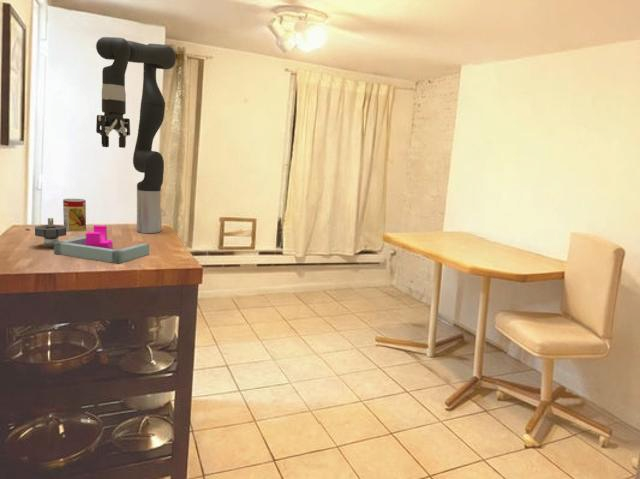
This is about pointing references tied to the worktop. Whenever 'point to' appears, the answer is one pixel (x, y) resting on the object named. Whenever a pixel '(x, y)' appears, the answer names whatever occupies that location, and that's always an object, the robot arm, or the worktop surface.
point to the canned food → (74, 214)
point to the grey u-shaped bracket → (99, 251)
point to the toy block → (99, 238)
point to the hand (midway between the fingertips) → (113, 147)
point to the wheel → (50, 231)
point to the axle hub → (50, 240)
